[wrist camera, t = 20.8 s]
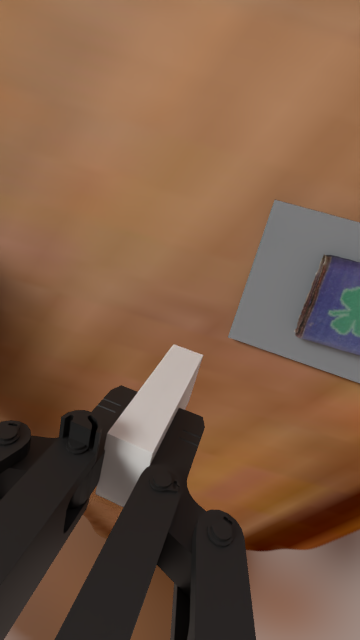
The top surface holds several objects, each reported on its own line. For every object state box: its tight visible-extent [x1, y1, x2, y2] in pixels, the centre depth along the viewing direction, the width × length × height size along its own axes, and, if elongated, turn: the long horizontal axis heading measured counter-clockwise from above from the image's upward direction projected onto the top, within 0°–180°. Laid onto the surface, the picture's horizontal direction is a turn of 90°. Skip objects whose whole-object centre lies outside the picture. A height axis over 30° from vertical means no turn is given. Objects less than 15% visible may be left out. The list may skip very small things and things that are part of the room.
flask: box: [294, 254, 360, 356], centre depth 33 cm, size 9×3×11 cm
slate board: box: [228, 200, 360, 383], centre depth 36 cm, size 18×16×1 cm
